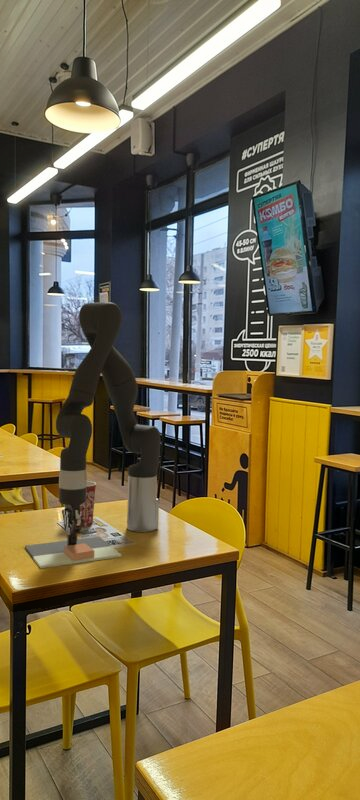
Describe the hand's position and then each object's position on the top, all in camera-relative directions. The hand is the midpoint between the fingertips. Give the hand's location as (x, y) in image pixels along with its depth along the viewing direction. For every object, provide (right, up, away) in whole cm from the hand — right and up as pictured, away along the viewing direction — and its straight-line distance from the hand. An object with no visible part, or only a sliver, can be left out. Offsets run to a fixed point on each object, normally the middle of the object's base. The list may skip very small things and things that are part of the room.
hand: (71, 547), depth 155 cm
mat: (0, -1, 0) cm, 1 cm away
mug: (-3, 0, +30) cm, 30 cm away
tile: (+3, 0, -4) cm, 5 cm away
